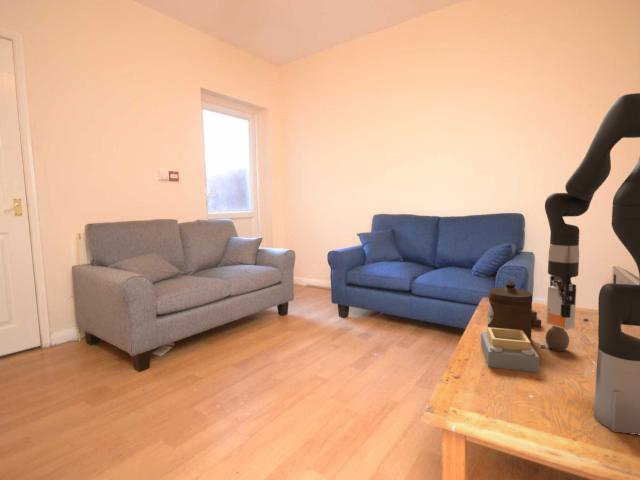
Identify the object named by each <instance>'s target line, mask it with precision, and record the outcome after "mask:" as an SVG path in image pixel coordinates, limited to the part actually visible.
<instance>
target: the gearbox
mask: <svg viewBox="0 0 640 480" xmlns="http://www.w3.org/2000/svg"><path fill="white" fill-rule="evenodd" d="M486 328H487V329H486V331H481V332H480V347H481V350H482V352H483V355H484V359H485V361H486V364H487V367H489V368H497V369H506V370H514V371H524V372H529V373H530V372H532V373H539V367H540V365H539V363H540V357H539V355H538V353H537V352H536V350H535V349H534V347H533V346H532V341H531V342H530V341H529V339H528V338H527V336H526V335H525V333H524V332H523V330H514V329H502V328H490V327H488V326H487V327H486Z"/></svg>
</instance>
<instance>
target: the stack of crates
mask: <svg viewBox="0 0 640 480" xmlns="http://www.w3.org/2000/svg"><path fill="white" fill-rule="evenodd" d="M532 327H534V328H536V327H537V328H541V327H542V320H541V319H540V318H539V317H538V312H537V311H536V310H534V309H532Z"/></svg>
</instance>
